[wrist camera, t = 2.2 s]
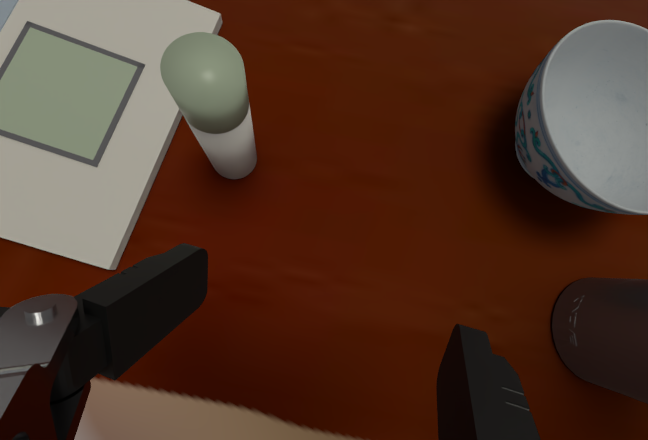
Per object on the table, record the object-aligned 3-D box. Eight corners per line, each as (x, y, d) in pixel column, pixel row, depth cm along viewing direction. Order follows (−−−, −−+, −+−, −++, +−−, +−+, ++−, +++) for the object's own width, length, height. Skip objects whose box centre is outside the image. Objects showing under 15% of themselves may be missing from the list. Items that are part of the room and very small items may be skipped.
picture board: (222, 22, 28) (220, 12, 27) (115, 269, 24) (108, 269, 22) (-23, -74, 26) (-36, -89, 24) (-187, 178, 21) (-211, 174, 20)
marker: (262, 145, 27) (255, 50, 15) (248, 185, 26) (228, 117, 14) (220, 130, 26) (178, 20, 15) (204, 170, 26) (147, 88, 14)
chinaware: (455, 190, 29) (520, 163, 21) (497, 53, 32) (567, -13, 24) (596, 251, 30) (704, 245, 23) (624, 115, 33) (728, 70, 26)
